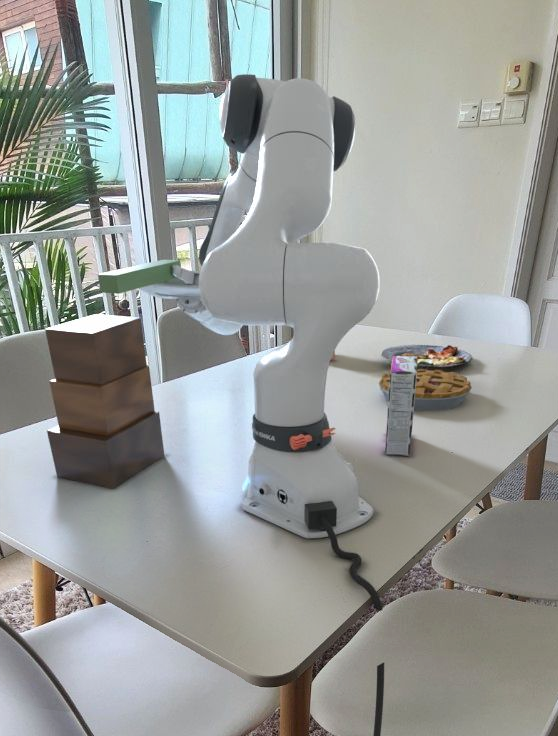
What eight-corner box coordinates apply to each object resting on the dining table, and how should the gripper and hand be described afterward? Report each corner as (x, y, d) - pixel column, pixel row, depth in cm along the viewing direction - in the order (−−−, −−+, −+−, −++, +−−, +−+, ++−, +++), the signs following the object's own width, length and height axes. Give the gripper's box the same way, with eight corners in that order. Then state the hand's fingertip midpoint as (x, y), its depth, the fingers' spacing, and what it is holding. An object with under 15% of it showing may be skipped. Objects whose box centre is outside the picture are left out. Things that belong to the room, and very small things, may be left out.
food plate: (471, 354, 183) (473, 342, 181) (471, 376, 163) (472, 362, 162) (386, 350, 189) (387, 338, 187) (376, 371, 170) (377, 358, 168)
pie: (372, 410, 142) (374, 388, 140) (381, 382, 160) (383, 363, 158) (471, 415, 137) (474, 393, 135) (469, 386, 156) (472, 366, 153)
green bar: (164, 275, 124) (163, 259, 122) (181, 276, 122) (180, 260, 121) (100, 292, 109) (97, 274, 107) (118, 293, 107) (116, 275, 106)
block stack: (111, 446, 127) (89, 313, 113) (164, 455, 122) (147, 318, 108) (56, 477, 114) (24, 331, 101) (113, 488, 109) (87, 338, 96)
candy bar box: (386, 434, 129) (392, 355, 120) (410, 436, 128) (418, 355, 119) (383, 455, 119) (389, 370, 111) (409, 457, 118) (418, 371, 110)
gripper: (159, 278, 136) (120, 250, 123) (241, 283, 128) (209, 253, 115) (154, 307, 136) (115, 282, 123) (235, 313, 128) (203, 287, 116)
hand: (161, 268), depth 119 cm, fingers closed on green bar, 4 cm apart
